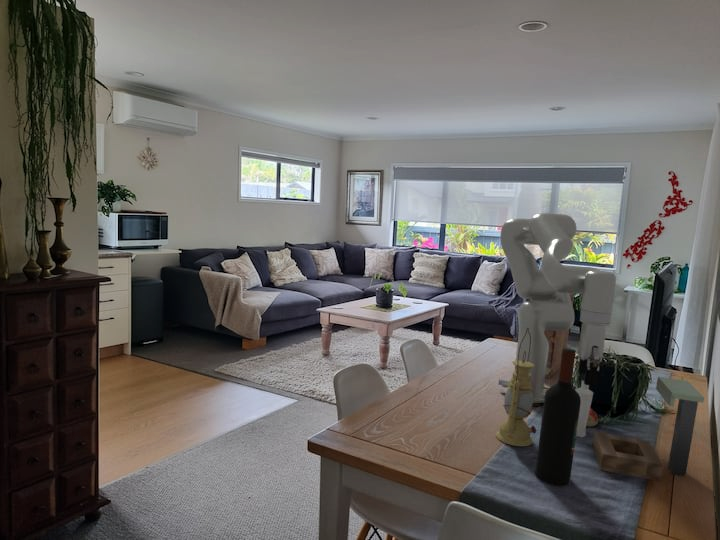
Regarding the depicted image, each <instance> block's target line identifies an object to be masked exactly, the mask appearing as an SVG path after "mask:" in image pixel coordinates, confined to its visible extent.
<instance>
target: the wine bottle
mask: <svg viewBox="0 0 720 540" xmlns="http://www.w3.org/2000/svg"><path fill="white" fill-rule="evenodd" d="M561 356H562V357H561V365H560V369H559V372H558V373H559V374H558V380H557V383H555V384H553V385H552V386H550V387H549V388H548V389H547V390H545V392H544V393H545V399H544V402H543V409H542V415H541V423H540V431H539V439H538V447H537V455H536V461H535V471H534V475H535V477H536V478H537V479H538V480H540V481H541V482H542V483H545V484H547V485H550V486H556V487H564V486H568V485H569V484H570V482H571V476H572V466H573V461H574V460H573V459H574V453H575V448H576V447H575V446H576V439H577V436H576V433H577V426H578V418H579V411H580V404H581V399H580V396H579V394H578V393H577V391H576V390H575V389H576V388H574V387H573V384H572V381H573V373H574V365H575V359H576V349H572V348H568V347H567V348H563V349H562V354H561Z"/></svg>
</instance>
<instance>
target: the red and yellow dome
mask: <svg viewBox="0 0 720 540" xmlns="http://www.w3.org/2000/svg"><path fill="white" fill-rule="evenodd" d="M598 424H599V417H598V415H597V413H596V412H595V411H594V410H593V408H591V407H590V411H589V415H588V420H587V424H586V427H587V426H588V427H589V428H590V427H595V426H596V425H598Z"/></svg>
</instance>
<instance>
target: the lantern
mask: <svg viewBox="0 0 720 540" xmlns="http://www.w3.org/2000/svg"><path fill="white" fill-rule="evenodd" d="M527 329H528V333H529V328H527ZM527 329H526V333H527ZM526 333H525V335H526ZM529 335H530V333H529ZM524 337H525V336H524ZM524 337H523V339H524ZM523 339H522V341H523ZM522 341H521V343H522ZM530 345H531V335H530ZM520 347H521V344H520ZM520 347H519V352H520ZM524 353H525V357H526V351H524ZM529 353H530V346H529ZM523 357H524V354H523ZM528 359H529V354H528ZM512 364H513V365H514V370H515V369H516V371H515V372H514V371H513V372H512V377H511V379H510V380H511V382H510V383H509V386H508V388H507V389H506V391H505V395H504V404H503V405H502V406H503V407H504V410H505V413H506V414H507V415H508V418H506V419H504V420H503V421H502V423H500V425H499V430H498V431H497V432H496V434H495V436H496V438H497V439H498V440H499V441H500V442H502V443H504V444H506V445H510V446H514V447H529V446H531V445H532V444H533V439H532V437H531V434H532V433H533V434H536V433H537V429H536V426H535V425H531V427H529V425H528V423H527V422H526V421H525V420H524V419H526V418H528V416H530V415H531V413H532V411H533V404H534V403H533V394H532V390H531V388H532V386H531V375H530V374H529V371H530V368H533V367H534V365H533V364H532V363H530V362H528V360H527V362H526V361H525V359H524V360H523V361H519V353H518V361H516V360H513V361H512Z"/></svg>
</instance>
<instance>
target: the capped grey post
mask: <svg viewBox="0 0 720 540" xmlns="http://www.w3.org/2000/svg"><path fill="white" fill-rule="evenodd" d="M655 386H656V387H655V389H656V391H657V392H658V393H659V394H660V396H661V397H662V398H663V400H664V401H665V402H666V403H667V405H668V406H669V407H674V406H675V401H676V399H677V400H678V403H677V411H676V416H675V422H674V428H673V434H672V439H671V440H672V441H671V447H670V453H669V458H668V465H667V469H668V471H669V473H670V474H671V475H675V476H680V477H681V476H682V477H686V475H687V469H688V464H689V458H690V452H691V447H692V446H691V445H692V441H693V434H694V428H695V422H696V415H697V410H698V405H699V403H704V402H705V397H704V396H703V394H701V393H700V392H699V390H697V389H696V387H694V386H693V385H692V384H691V382H689V381H688V380H685V379H677V378H670V377H662V376H657V380H656V385H655Z"/></svg>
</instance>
